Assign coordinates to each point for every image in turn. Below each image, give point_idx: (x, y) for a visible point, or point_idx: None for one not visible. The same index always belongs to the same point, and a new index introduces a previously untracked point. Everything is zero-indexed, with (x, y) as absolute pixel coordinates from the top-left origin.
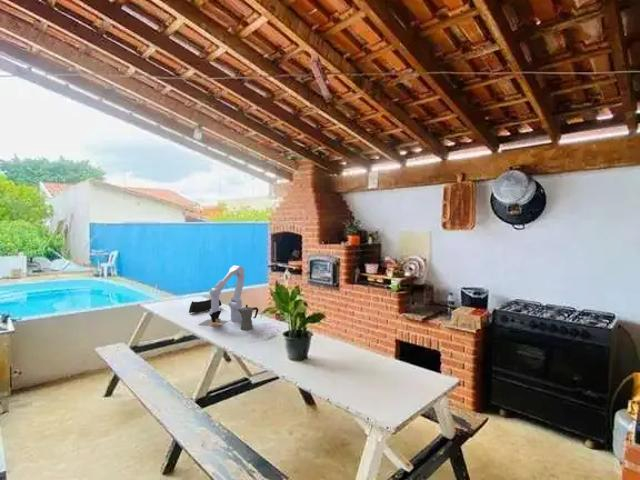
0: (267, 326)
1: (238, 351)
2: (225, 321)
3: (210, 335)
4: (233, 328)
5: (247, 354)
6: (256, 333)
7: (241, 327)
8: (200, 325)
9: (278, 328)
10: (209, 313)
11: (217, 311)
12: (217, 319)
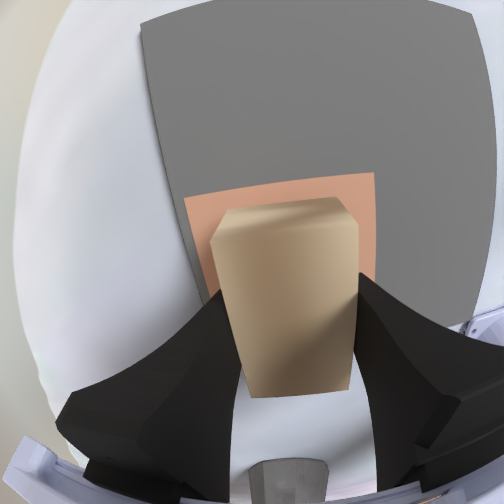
0: (352, 486)
1: (73, 455)
2: (456, 303)
3: (50, 366)
4: (258, 438)
5: (82, 466)
6: (234, 490)
7: (258, 474)
8: (148, 72)
9: (330, 500)
10: (20, 451)
11: (404, 483)
12: (286, 376)
